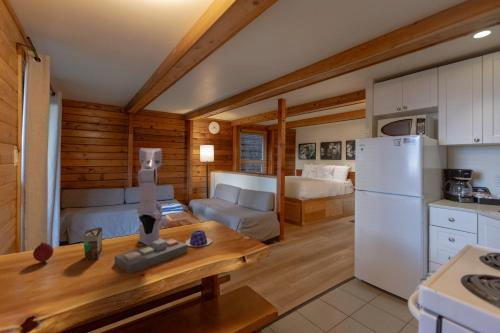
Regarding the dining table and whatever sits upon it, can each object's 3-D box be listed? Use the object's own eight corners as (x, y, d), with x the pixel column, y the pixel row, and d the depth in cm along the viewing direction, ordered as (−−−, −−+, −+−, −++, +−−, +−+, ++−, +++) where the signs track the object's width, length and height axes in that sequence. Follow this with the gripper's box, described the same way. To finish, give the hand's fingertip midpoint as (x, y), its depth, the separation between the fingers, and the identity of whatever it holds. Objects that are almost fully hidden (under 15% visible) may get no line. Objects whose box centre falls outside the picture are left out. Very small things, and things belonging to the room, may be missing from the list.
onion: (57, 260, 93) (56, 239, 92) (40, 266, 87) (39, 245, 87) (47, 258, 94) (46, 237, 94) (29, 264, 89) (28, 243, 89)
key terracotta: (164, 249, 102) (164, 241, 102) (172, 246, 105) (172, 239, 105) (170, 251, 99) (169, 244, 99) (178, 248, 103) (178, 241, 102)
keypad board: (114, 263, 90) (114, 255, 90) (170, 244, 109) (170, 238, 109) (130, 273, 83) (130, 265, 82) (187, 251, 102) (187, 244, 101)
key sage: (139, 258, 93) (139, 249, 93) (148, 254, 96) (148, 246, 96) (144, 260, 91) (144, 252, 91) (154, 257, 94) (154, 249, 94)
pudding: (193, 237, 120) (193, 227, 119) (215, 240, 116) (215, 229, 116) (179, 246, 108) (179, 234, 108) (203, 249, 105) (203, 237, 104)
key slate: (152, 249, 97) (152, 242, 97) (161, 246, 101) (161, 239, 100) (157, 252, 95) (157, 244, 95) (166, 249, 98) (166, 241, 98)
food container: (85, 251, 101) (84, 228, 100) (102, 249, 103) (102, 226, 103) (77, 264, 89) (77, 237, 89) (97, 261, 92) (96, 235, 91)
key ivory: (124, 263, 89) (124, 254, 89) (135, 259, 92) (135, 251, 92) (129, 266, 86) (129, 257, 86) (140, 262, 90) (140, 253, 89)
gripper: (129, 198, 96) (129, 232, 97) (147, 203, 87) (148, 240, 88) (146, 196, 101) (146, 227, 102) (165, 200, 92) (165, 235, 93)
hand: (148, 233), depth 95 cm, fingers closed
